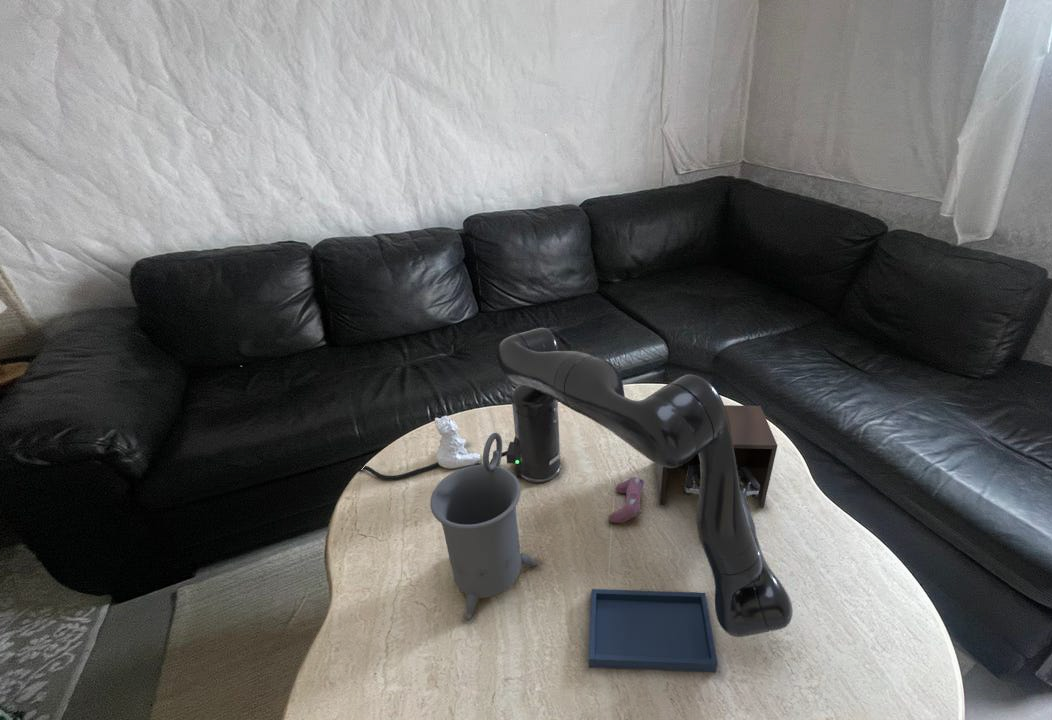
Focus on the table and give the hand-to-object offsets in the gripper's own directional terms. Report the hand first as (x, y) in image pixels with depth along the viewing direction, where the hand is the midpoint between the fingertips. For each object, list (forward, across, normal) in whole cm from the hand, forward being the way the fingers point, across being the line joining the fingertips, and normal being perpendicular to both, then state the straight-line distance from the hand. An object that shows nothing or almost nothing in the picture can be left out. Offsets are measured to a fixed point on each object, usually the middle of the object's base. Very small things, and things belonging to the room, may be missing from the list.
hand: (712, 455), depth 103 cm
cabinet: (+1, 0, +9) cm, 9 cm away
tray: (-32, +14, +10) cm, 36 cm away
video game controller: (-6, +17, +9) cm, 20 cm away
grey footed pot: (-22, +41, +10) cm, 47 cm away
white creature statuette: (+7, +55, +9) cm, 56 cm away
